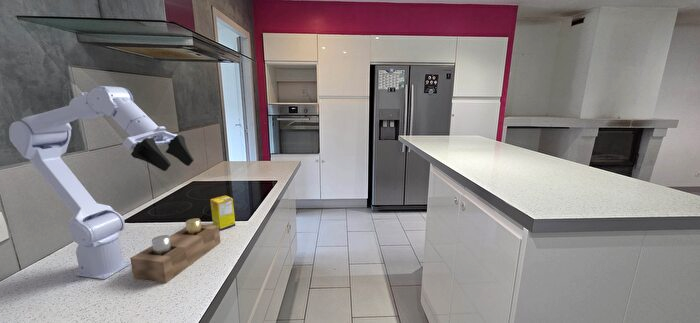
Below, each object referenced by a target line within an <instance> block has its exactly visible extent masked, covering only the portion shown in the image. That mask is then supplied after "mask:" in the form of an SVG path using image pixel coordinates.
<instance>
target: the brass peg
mask: <svg viewBox="0 0 700 323" xmlns="http://www.w3.org/2000/svg"><path fill="white" fill-rule="evenodd" d="M201 223H202V222H201V219H200V218H198V217H197V218H194V217H193V218H189V219H187V220H185V227H186V228H187V235H197V234H199V233H200V232H202V230H201Z"/></svg>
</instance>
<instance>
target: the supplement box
mask: <svg viewBox="0 0 700 323" xmlns="http://www.w3.org/2000/svg"><path fill="white" fill-rule="evenodd" d="M210 210H211V219H212V225H214V226H219V232H220V231H223V230H226V229H229V228H232V227H235V226H236V217H235V208H234V199H233V198H232V197H230V196H228V195H221V196H217V197H215V198H214V197H213V198H211V199H210Z"/></svg>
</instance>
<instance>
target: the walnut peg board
mask: <svg viewBox="0 0 700 323" xmlns="http://www.w3.org/2000/svg"><path fill="white" fill-rule="evenodd" d="M201 230H202V232H200V233H199V234H197V235H187V228H186V226H185V227H183V228H182V229H180V230H178V231H176V232H174V233H173V234H170V235H168V236H169V237H170V244H171V251H170V252H168V253H167V254H165V255H163V256H159V255H154V251H153V245H151V246H149V247H148V248H146V249H144V250H142V251H140V252H139V253H137V254H135V255H132V256H131V257H130V258H129V259H130V260H129V261H130V262H131V264H130V266H131V271H132V276H133V279H134V280H139V281H140V280H141V281H148V282H155V283H162V284H167V283H168V282H170V281H171V280H173V279H174V278H175V277H177V276H178V275H179V274H181V273H182V272H183V271H185V270H186V269H187V268H188V267H190V266H191V265H193V264H194V263H196V262H197V261H198V260H200V259H201V258H202V257H204V256H205V255H206V254H207V253H210V251H212V250H213V249H215V247H217V246H218V245H220V244H221V234H220V230H219V226H214V225H213V224H212V225H211V224H201Z"/></svg>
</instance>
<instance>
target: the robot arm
mask: <svg viewBox="0 0 700 323" xmlns="http://www.w3.org/2000/svg"><path fill="white" fill-rule="evenodd" d="M77 95H78V96H76V97H73V98H72V99H71V100H70V101H69V105H66V106H65V105H64V106H62V107H59V108H54V109H52V110H49V111H44V112H40V113H37V114H33V115H29V116H25V117H23V118H21V119H20V120H18V121H13V122H11V125H10V126H9V129H8V136H9V141H10V142H11V144H12V145H13V146H14V147H15V148H16V149H17V151H18V152H19V153H20V155H21V156H22V157H23V158H24V159H27V160H29V162H30V163H31V164H32V165H33V167H34V168H35V170H36V171H37V172H38V173H39V174H40V175H41V177H42V178H43V179H44V180H45V182H46V183H47V184H48V185H49V186H50V187H51V189H52V190H53V191H54V193H55V194H56V195H57V197H58V198H59V199H60V200H61V202H63V204H64V205H65V206H66V207H67V208H68V210H69V211H70V212H71V214H72V216H71V218H70V219H69V221H67V225H66V227H67V229H68V230H69V232H70V234H71V237H72V240H73V242H75V243H76V245H77V246H76V250H75V255H76V259H77V264H78V269H79V271H78V272H77V273H76V276H79V277H84V278H86V277H87V278H91V279H93V278H94V279H98V280H100V279H101V280H105V279H107V278H109V277H110V276H112V275H114V274H116V273H118V272H120V271H121V270H123V269H125V268H126V267H129V266H131V260H124V258H123V253H122V246H121V242H120V236H121V235H122V231H123V230H124V228H125V226H126V225H125V224H126V223H125V222H126V221H125V218H124V217H123V216H122V215H121V214H120V213H119V212H118V211H116V210H115V209H114V208H113V207H111V205H107V204H103V203H98V202H97V201H95V199H94V198H93V197H92V195H91V194H90V192H88V190H87V189H86V188H85V186H84V185H83V184H82V183H81V182H80V180H79V179H78V178H77V176H76V175H75V174H74V173H73V172H72V171H71V169H70V168H69V166H68V165H67V164H66V163H65V162H64V160H63V159H62V158H61V157H62V156H63V155H64V154H65V153H67V150H68V147H69V143H70V140H71V136H72V126H71V124H70V123H71V122H72V123H73V121H76V120H78V119H81V120H84V121H89V120H94V119H96V118H100V117H102V116H105V115H106V116H107V117H111V118H112V119H113V120H114V121H115V122H116V123H117V124H118V125H119V126H120V127H121V128H122V129H123V130H124V131H125V132H126V133H127V134H128V135H129V136H128V137H126V138H125V139H124V141H123V142H122V145H123V146H124V147H125V148H126V149H127V150H128V151H129V150H130V151H131V150H132V152H131V153H130V155H131V156H132V158H134V159H136V160H137V159H138V160H141V161H143V162H146V163H148V164H150V165H152V166H154V167H156V168H157V169H159V170H161V171H163V172H166V171H167V170H168V169H169V168H170V167H171V166H172V163H171V162H170V161H169V159H168V158H167V157H166V156H165V154H163V153H162V151H161V149H160V148H159V147H161V146H163V145H167V149H166V150H165V153H166V154H169V155H171V156H173V157H175V158H176V159H177V160H178V161H180V162H181V163H183V165H185V166H187V167H190V166H191V165H192V163H193V162H194V161H195V160H194V158H193V156H192V154H191V153H190V151H189V149H188V147H187V144H186V140H185V137H184V136H183V135H182V134H181V135H180V134H176V133H171V132H169V131H167V128H166V127H165V126H163V125H162V126H159V125H157V124H156V123H155V122H154V121H153V120H152V118H150V116H148V115H147V114H146V113H145V112H144V110H142V109H141V108H140V107H139V106H138V105H137V104H136V103H135V102H134V96H133V94H132V93H131V92H130V90H129V89H128V88H126V87H121V86H110V85H109V86H107V85H96V86H95V87H94V88H92V89H91V90H90V91H89V92H78V93H77Z"/></svg>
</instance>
